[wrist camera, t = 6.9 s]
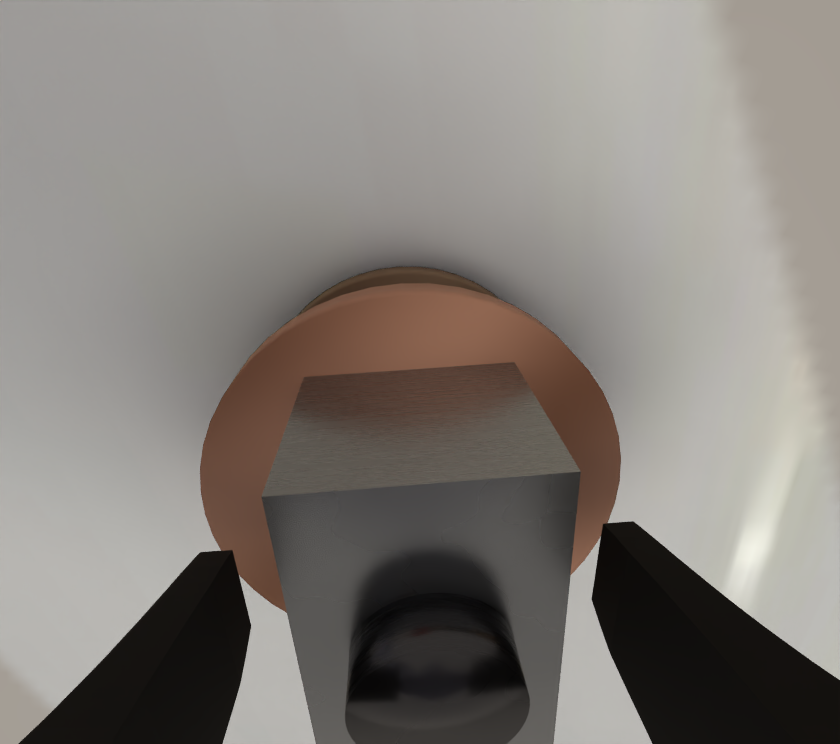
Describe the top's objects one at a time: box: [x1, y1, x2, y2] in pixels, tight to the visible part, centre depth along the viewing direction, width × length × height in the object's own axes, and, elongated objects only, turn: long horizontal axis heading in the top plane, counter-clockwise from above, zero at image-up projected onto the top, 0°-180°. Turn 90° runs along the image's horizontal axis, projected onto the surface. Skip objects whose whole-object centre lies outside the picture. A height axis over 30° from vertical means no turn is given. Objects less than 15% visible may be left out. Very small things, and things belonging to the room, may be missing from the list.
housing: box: [261, 362, 581, 744], centre depth 10 cm, size 4×7×5 cm, turn 3°
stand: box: [200, 267, 621, 612], centre depth 14 cm, size 10×10×5 cm
